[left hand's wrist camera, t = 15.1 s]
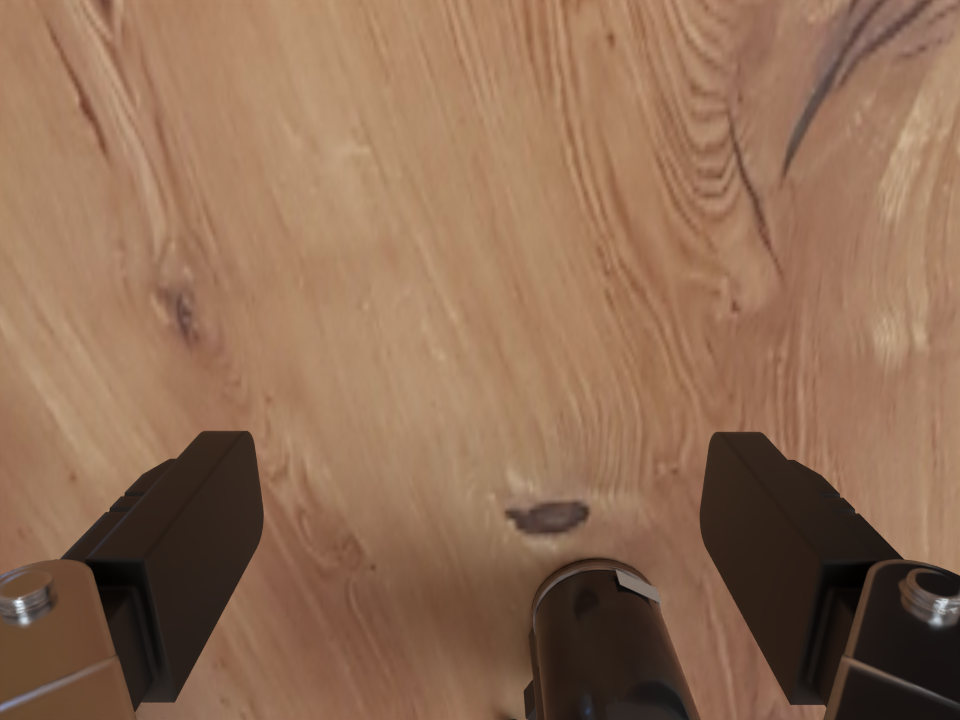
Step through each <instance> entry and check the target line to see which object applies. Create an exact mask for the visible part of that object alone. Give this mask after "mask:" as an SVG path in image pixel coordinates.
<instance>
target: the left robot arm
mask: <svg viewBox="0 0 960 720" xmlns="http://www.w3.org/2000/svg"><path fill="white" fill-rule="evenodd" d="M263 518H264V514H263V503H262V496H261V488H260V481H259V474H258V466H257V459H256V452H255V445H254V440H253V438H252V435H251V434H250V433H249V432H248V431H203V432H201V433H200V434H199V435H198V436H197V437H196V438H195V439H194V440H193V442H192V443H191V444H190V445H189V446H188V447H187V448H186V449H185V450H184V451H183V452H182V453H181V455H180V456H179V457H178V458H177V459H169V460H167V461H165V462H163V463H162V464H160V465H158V466H156V467H155V468H153V469H151V470H149V471H148V472H146V473H144V474H142V475H141V477H140V478H139V479H138V480H137V481H136V482H135V483H134V484H133V485H132V486H131V487H130V488H129V489H128V490H127V491H126V492H125V496H121V497H120V498H119V499H118V500H117V501H116V502H115V503H114V504H113V505H112V506H111V507H110V511H109V512H105V513H104V514H103V515H102V517H101V518H100V519H99V520H98V521H97V522H96V523H95V524H94V525H93V526H92V527H91V528H90V529H89V530H88V531H87V532H86V533H85V534H84V535H83V536H82V537H81V538H80V539H79V540H78V541H77V542H76V543H75V544H74V545H73V546H72V547H71V548H70V549H69V550H68V551H67V552H66V553H65V554H64V556H63V557H62V558H61V559H60V560H48V561H42V562H38V563H33V564H30V565H26V566H23V567H20V568H17V569H15V570H12V571H10V572H7V573H5V574H3V575H1V576H0V720H137V719H136V716H135V711H136V710H137V708H138V706H139V705H140V703H141V702H175V701H176V699H177V697H178V695H179V693H180V691H181V689H182V688H183V686H184V684H185V682H186V680H187V678H188V676H189V674H190V673H191V671H192V669H193V667H194V665H195V663H196V661H197V659H198V657H199V656H200V654H201V652H202V650H203V648H204V646H205V644H206V642H207V641H208V639H209V637H210V635H211V633H212V631H213V629H214V627H215V625H216V624H217V622H218V620H219V618H220V616H221V614H222V612H223V610H224V609H225V607H226V605H227V603H228V601H229V599H230V597H231V595H232V594H233V592H234V590H235V588H236V586H237V584H238V582H239V580H240V578H241V577H242V575H243V573H244V571H245V569H246V567H247V565H248V563H249V562H250V560H251V558H252V556H253V554H254V552H255V550H256V548H257V546H258V544H259V542H260V538H261V534H262V529H263ZM700 528H701V534H702V538H703V542H704V545H705V547H706V549H707V551H708V553H709V554H710V556H711V558H712V560H713V562H714V564H715V566H716V567H717V569H718V571H719V573H720V575H721V577H722V579H723V580H724V582H725V584H726V586H727V588H728V590H729V592H730V593H731V595H732V597H733V599H734V601H735V603H736V605H737V606H738V608H739V610H740V612H741V614H742V616H743V618H744V619H745V621H746V623H747V625H748V627H749V629H750V631H751V632H752V634H753V636H754V638H755V640H756V642H757V644H758V645H759V647H760V649H761V651H762V653H763V655H764V657H765V658H766V660H767V662H768V664H769V666H770V668H771V670H772V671H773V673H774V675H775V677H776V679H777V681H778V683H779V684H780V686H781V688H782V690H783V692H784V694H785V696H786V697H787V699H788V701H789V703H790V705H825V706H826V708H827V709H826V712H825V716H824V719H823V720H960V576H959V575H957V574H955V573H953V572H950V571H948V570H945V569H943V568H940V567H937V566H934V565H930V564H927V563H922V562H918V561H912V560H904V559H903V558H902V557H901V556H900V555H899V554H898V553H897V552H896V551H895V550H894V549H893V548H892V547H891V546H890V545H889V544H888V543H887V541H886V540H885V539H884V538H883V537H882V536H881V535H880V534H879V533H878V532H877V531H876V530H875V529H874V528H873V527H872V526H871V525H870V524H869V523H868V522H867V521H866V520H865V519H864V518H863V517H862V516H861V515H860V514H856V513H855V509H854V508H853V507H852V506H851V505H850V504H849V503H848V502H847V501H846V500H845V499H844V498H840V494H839V493H838V492H837V491H836V490H835V489H834V488H833V487H832V486H831V485H830V484H829V483H828V482H827V480H826V479H825V478H824V477H823V476H821V475H820V474H818V473H816V472H814V471H813V470H811V469H809V468H807V467H806V466H804V465H802V464H800V463H799V462H797V461H795V460H787V459H786V458H785V457H784V456H783V454H782V453H781V452H780V451H779V450H778V449H777V448H776V447H775V446H774V445H773V444H772V443H771V442H770V440H769V439H768V438H767V437H766V436H765V435H764V434H763V433H761V432H715V433H714V434H713V436H712V437H711V440H710V443H709V449H708V456H707V463H706V470H705V478H704V485H703V492H702V499H701V507H700ZM659 603H662V602H661V599H660V596H659V594H658V591H657V588H655V587H653V586H652V585H651V584H650V582H649V581H648V580H647V579H646V578H645V577H644V576H643V575H642V574H641V573H640V572H638V571H637V570H636V569H634V568H632V567H630V566H628V565H626V564H623V563H620V562H617V561H612V560H604V559H593V560H585V561H580V562H576V563H573V564H570V565H568V566H566V567H564V568H562V569H560V570H558V571H557V572H555V573H554V574H553V575H551V576H550V577H549V578H548V579H547V580H546V581H545V582H544V583H543V584H542V586H541V587H540V589H539V590H538V592H537V594H536V596H535V599H534V602H533V607H532V619H533V630H532V631H531V632H530V634H529V642H530V653H531V663H532V673H533V680H532V681H531V682H530V684H529V685H528V686H527V687H526V689H525V690H524V701H525V714H526V719H528V720H701V719H700V716H699V714H698V711H697V708H696V705H695V703H694V700H693V697H692V695H691V692H690V689H689V687H688V684H687V681H686V679H685V676H684V673H683V671H682V668H681V665H680V663H679V660H678V657H677V654H676V652H675V649H674V646H673V644H672V641H671V638H670V636H669V633H668V630H667V627H666V625H665V622H664V619H663V617H662V614H661V610H660V605H659ZM512 720H516V719H512Z"/></svg>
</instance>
